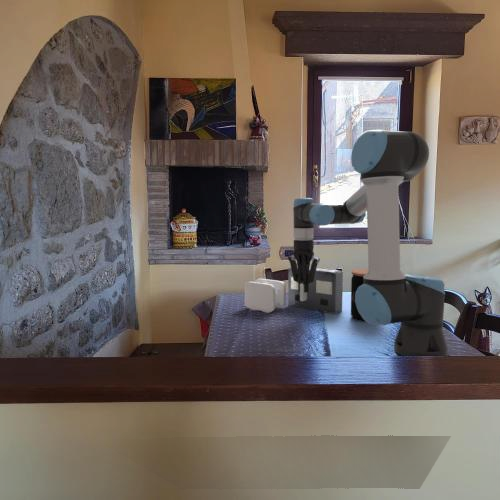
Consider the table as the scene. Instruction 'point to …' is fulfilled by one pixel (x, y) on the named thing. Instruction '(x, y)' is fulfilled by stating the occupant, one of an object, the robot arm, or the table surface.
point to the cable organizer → (265, 295)
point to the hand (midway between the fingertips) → (303, 300)
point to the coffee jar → (355, 283)
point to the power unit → (318, 291)
